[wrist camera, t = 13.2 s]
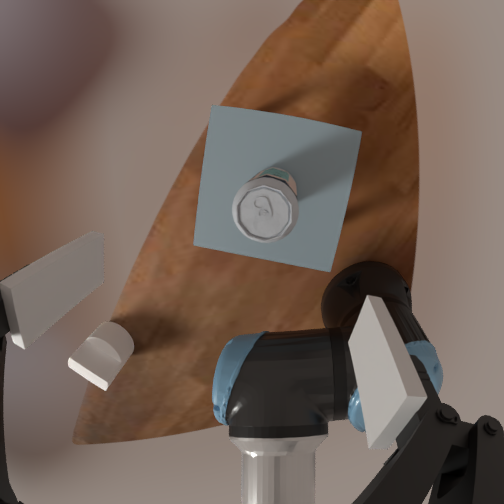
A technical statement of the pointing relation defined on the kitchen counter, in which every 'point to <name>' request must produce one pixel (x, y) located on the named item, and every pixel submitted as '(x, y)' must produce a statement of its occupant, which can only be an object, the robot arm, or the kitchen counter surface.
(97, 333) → the base with upright slab
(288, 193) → the beer can
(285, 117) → the pale blue square-topped fixture
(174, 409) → the kitchen counter surface
